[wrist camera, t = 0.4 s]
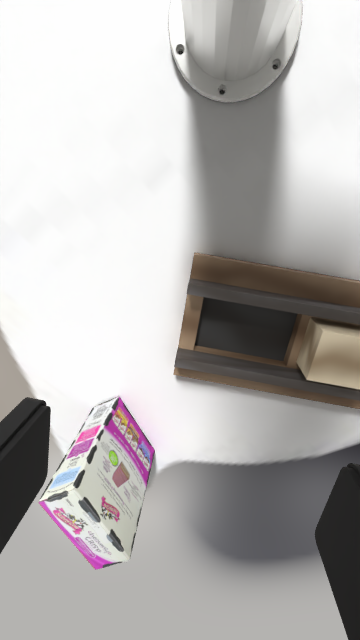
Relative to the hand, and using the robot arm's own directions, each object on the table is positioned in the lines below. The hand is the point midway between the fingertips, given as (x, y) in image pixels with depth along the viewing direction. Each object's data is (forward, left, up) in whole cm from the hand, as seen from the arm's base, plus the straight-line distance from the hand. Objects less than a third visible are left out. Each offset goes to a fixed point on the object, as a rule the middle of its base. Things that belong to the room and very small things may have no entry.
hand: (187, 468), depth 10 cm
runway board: (+5, +17, -31) cm, 36 cm away
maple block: (+5, +16, -29) cm, 34 cm away
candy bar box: (+25, -8, -31) cm, 41 cm away
